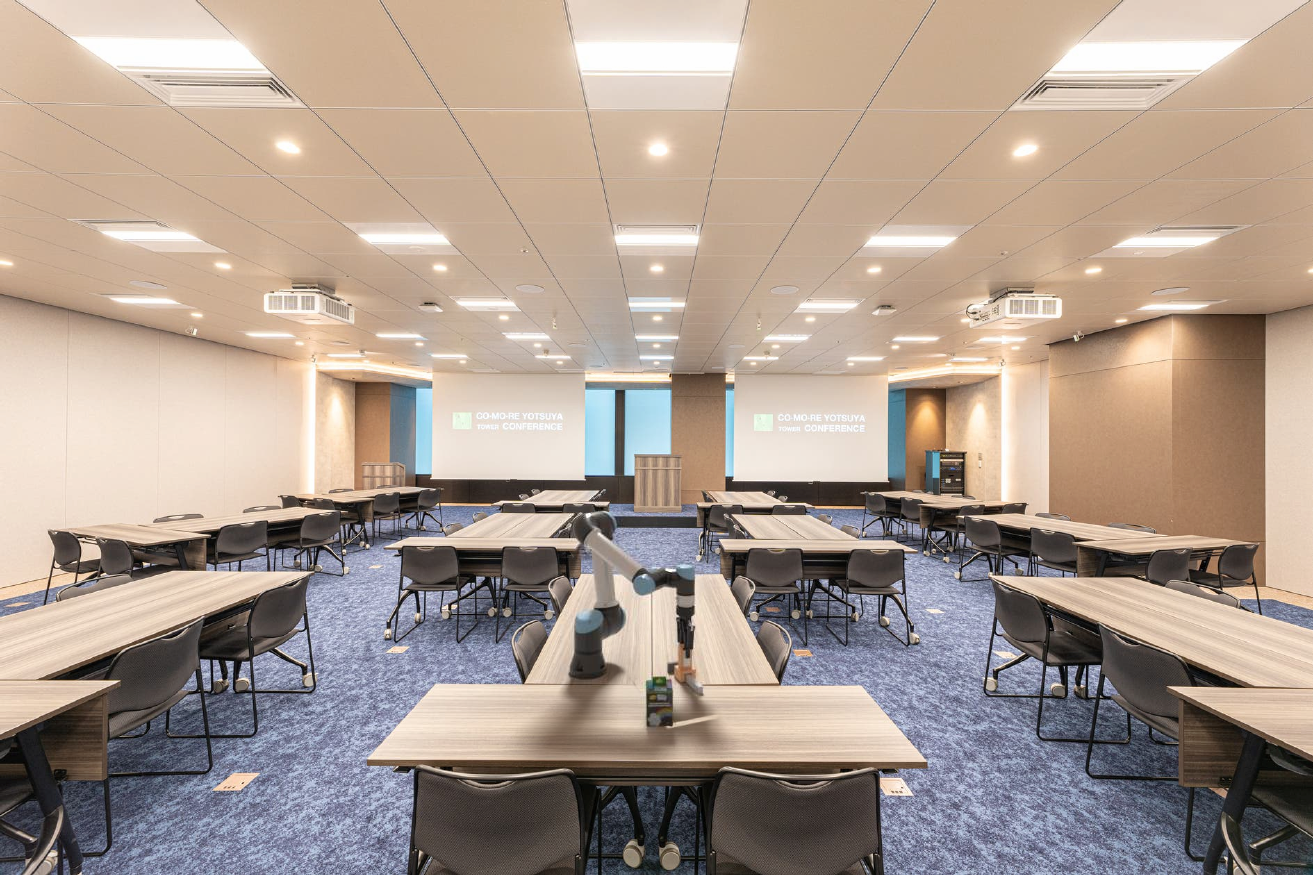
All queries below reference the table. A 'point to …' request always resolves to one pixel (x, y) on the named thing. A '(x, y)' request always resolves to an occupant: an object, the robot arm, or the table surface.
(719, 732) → the table surface
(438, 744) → the table surface
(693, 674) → the slider
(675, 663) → the rail
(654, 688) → the chalk box
